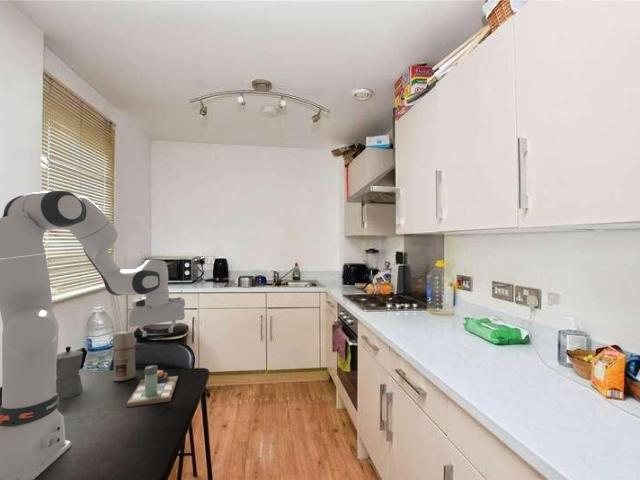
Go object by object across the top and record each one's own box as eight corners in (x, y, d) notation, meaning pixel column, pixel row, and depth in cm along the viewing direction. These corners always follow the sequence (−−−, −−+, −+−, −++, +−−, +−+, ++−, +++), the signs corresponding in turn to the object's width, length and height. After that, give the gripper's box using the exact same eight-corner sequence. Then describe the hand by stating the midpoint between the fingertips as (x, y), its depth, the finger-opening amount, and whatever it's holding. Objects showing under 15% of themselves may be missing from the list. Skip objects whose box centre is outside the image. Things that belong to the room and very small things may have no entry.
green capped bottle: (151, 398, 119) (151, 369, 120) (142, 396, 121) (142, 368, 121) (160, 393, 123) (160, 365, 124) (151, 391, 125) (151, 364, 125)
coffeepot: (64, 402, 120) (64, 352, 121) (40, 401, 121) (40, 351, 122) (97, 385, 135) (97, 340, 136) (75, 384, 136) (75, 340, 137)
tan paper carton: (108, 381, 140) (108, 333, 140) (124, 374, 148) (124, 328, 148) (123, 383, 137) (124, 334, 138) (140, 375, 145) (140, 329, 146)
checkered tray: (170, 401, 120) (170, 391, 120) (126, 406, 116) (126, 397, 116) (177, 378, 141) (177, 371, 141) (141, 383, 137) (141, 375, 137)
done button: (162, 377, 135) (162, 372, 135) (152, 379, 134) (152, 373, 134) (163, 374, 138) (163, 369, 138) (154, 375, 137) (154, 370, 137)
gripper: (183, 295, 142) (184, 328, 142) (128, 301, 132) (129, 336, 132) (185, 297, 136) (186, 331, 136) (128, 303, 126) (129, 340, 126)
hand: (158, 334), depth 134 cm, fingers open, 8 cm apart
